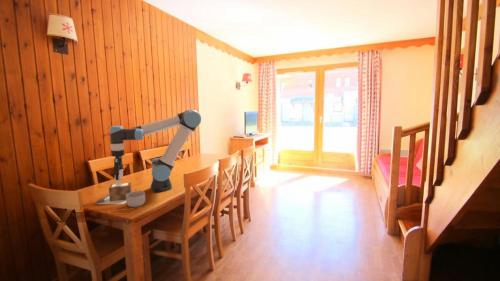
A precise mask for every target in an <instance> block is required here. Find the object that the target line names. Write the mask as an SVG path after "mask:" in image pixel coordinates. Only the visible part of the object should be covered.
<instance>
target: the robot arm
mask: <svg viewBox="0 0 500 281" xmlns="http://www.w3.org/2000/svg"><path fill="white" fill-rule="evenodd" d="M201 122H202V116H201V114H200V113H199V112H198V111H197V110H195V109H187V110H184V111H182V112H179V113H177V114H176V115H174V116H170V117H167V118H164V119H160V120H156V121H152V122H150V123H145V124H142V125H138V126H133V127H131V128H124V127H123V125H113V126H110V127H109V137H110V138H109V139H110V144H109V147H110V150H111V151H110V155H111V157H115V158H114V159H113V174H112V175H113V176H114V184H115V185H120V184H121V180H123V179H124V171H123V170H125V167H124V166H123V159H122V158H123V156H125V143H124V141H142V140H143V139H144V136H149V135H150V134H155V133H158V132H161V131H166V130H169V129H172V128H177V127H178V129H177V131H176V132H175V134H174V136H173V138H172V139H171V141H170V143H169V144H168V147H167V148H166V149H165V151H164V153H163V155H162V156H161V157H158V158H152V159H151V175H152V181H151V182H150V183H151V184H150V190H151V191H152V192H157V193H158V192H166V191H169V190H171V189H172V188H173V183H172V182H171V179H170V176H171V173H172V170H173V169H174V167H175V164H174V163H175V161H176V159H177V157H178V156H179V154H180V152H181V150H182V149H183V147H184V145H185V143H186V142H187V140H188V138H189V136H190V135H191V133H193V132H195V130H196V128H197V127H199V125H200V124H201Z"/></svg>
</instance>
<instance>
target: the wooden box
mask: <svg viewBox="0 0 500 281" xmlns="http://www.w3.org/2000/svg"><path fill="white" fill-rule="evenodd" d="M130 192H132V182H120V185H115V183H111V184H110V185H109V187H108V194H109V196H110V201H119V200H126V195H127V194H128V193H130Z"/></svg>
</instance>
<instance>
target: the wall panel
mask: <svg viewBox="0 0 500 281" xmlns="http://www.w3.org/2000/svg"><path fill="white" fill-rule="evenodd" d="M94 203H95V205H125V204H127V200H119V201H110V196H109V193H107V194H105V195H104V196H103V197H100V198H99V199H97V200H96V201H95V202H94Z"/></svg>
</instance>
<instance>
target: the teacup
mask: <svg viewBox="0 0 500 281" xmlns="http://www.w3.org/2000/svg"><path fill="white" fill-rule="evenodd" d="M126 200H127V202H126V204H127V206H128V207H131V208H138V207H139V208H140V207H141V206H143V205H144V204H145V203H146V192H145V191H143V190H134V191H131V192H130V193H128V194H127V195H126Z"/></svg>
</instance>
